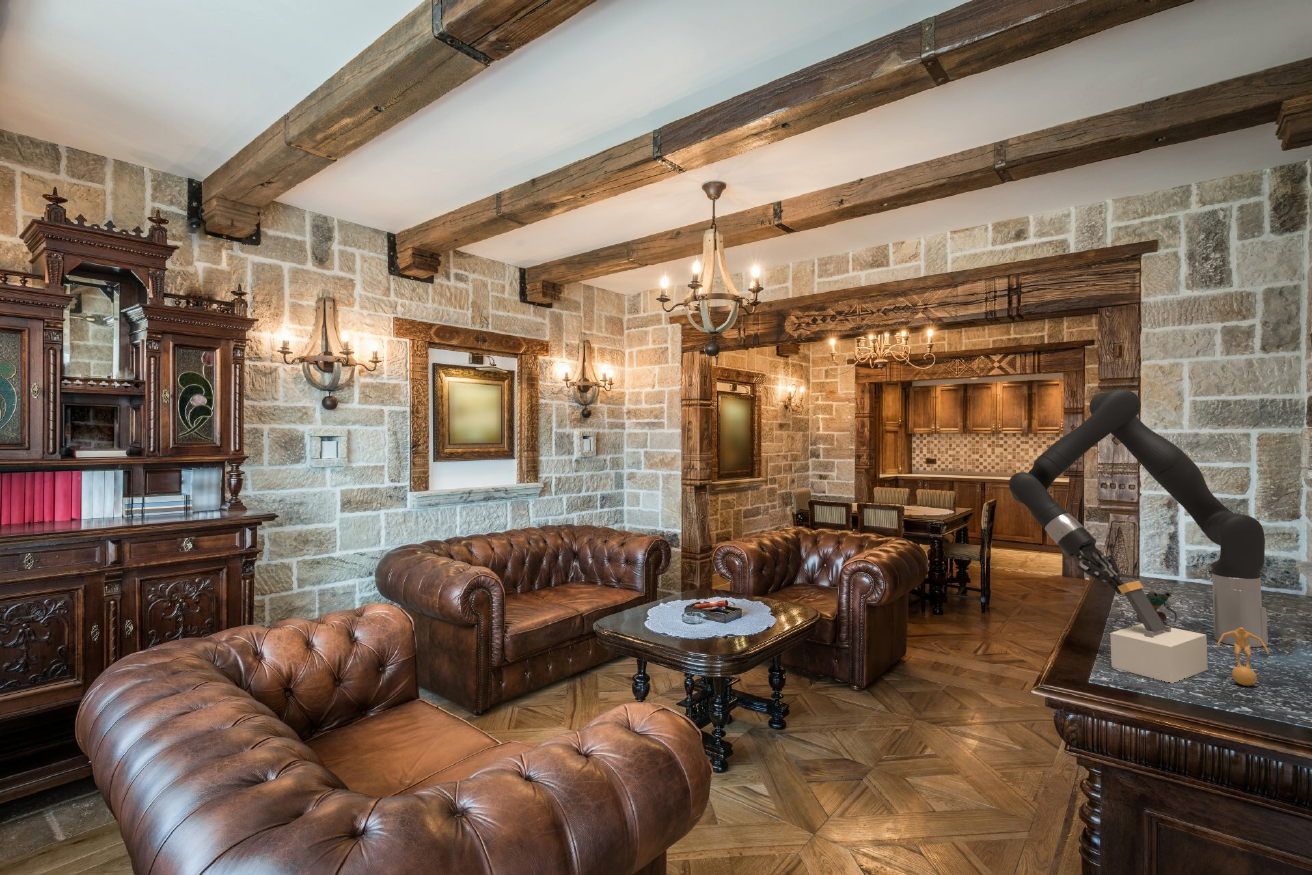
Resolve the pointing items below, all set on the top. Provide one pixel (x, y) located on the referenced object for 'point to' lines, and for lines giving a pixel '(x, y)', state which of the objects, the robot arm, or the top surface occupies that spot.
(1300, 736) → the top surface
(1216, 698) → the top surface
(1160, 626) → the handle
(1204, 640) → the breaker housing
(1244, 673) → the figurine
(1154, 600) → the binoculars
